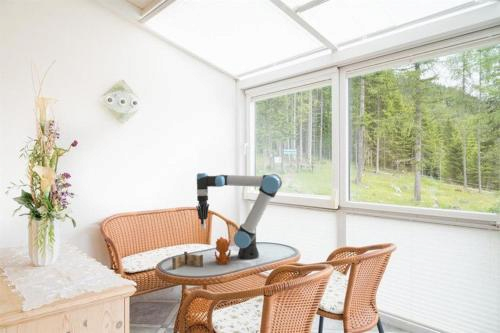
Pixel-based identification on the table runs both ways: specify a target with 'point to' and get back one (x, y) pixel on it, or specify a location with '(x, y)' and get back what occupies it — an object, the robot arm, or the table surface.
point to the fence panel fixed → (179, 261)
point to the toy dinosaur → (222, 251)
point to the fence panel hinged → (195, 260)
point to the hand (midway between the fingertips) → (203, 228)
